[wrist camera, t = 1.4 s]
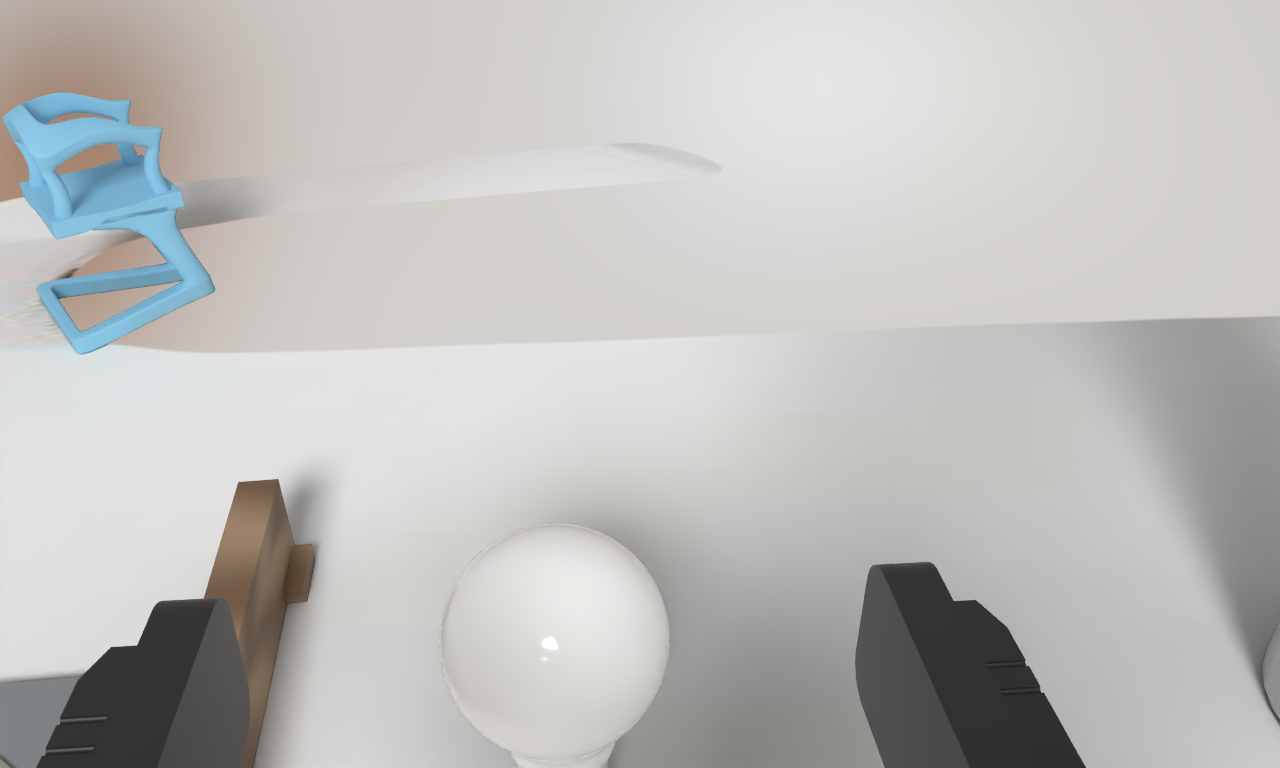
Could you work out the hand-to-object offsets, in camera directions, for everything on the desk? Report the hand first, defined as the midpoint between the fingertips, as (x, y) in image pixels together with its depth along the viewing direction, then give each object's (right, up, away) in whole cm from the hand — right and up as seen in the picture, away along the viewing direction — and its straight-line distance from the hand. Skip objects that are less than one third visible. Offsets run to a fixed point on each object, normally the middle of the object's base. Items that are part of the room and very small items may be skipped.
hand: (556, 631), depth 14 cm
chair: (-28, +8, +48) cm, 56 cm away
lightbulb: (-1, -11, +21) cm, 23 cm away
